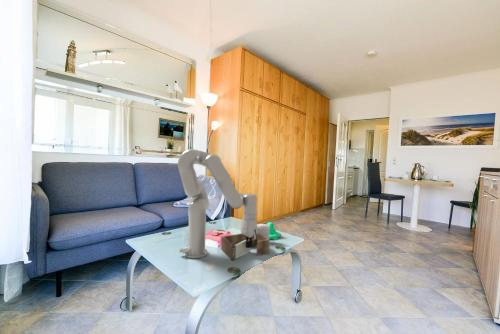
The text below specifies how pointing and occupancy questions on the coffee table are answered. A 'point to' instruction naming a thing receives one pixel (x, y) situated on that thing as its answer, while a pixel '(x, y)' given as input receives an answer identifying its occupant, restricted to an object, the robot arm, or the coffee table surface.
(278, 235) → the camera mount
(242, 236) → the brown wooden open box
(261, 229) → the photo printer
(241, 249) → the door
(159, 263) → the coffee table surface
